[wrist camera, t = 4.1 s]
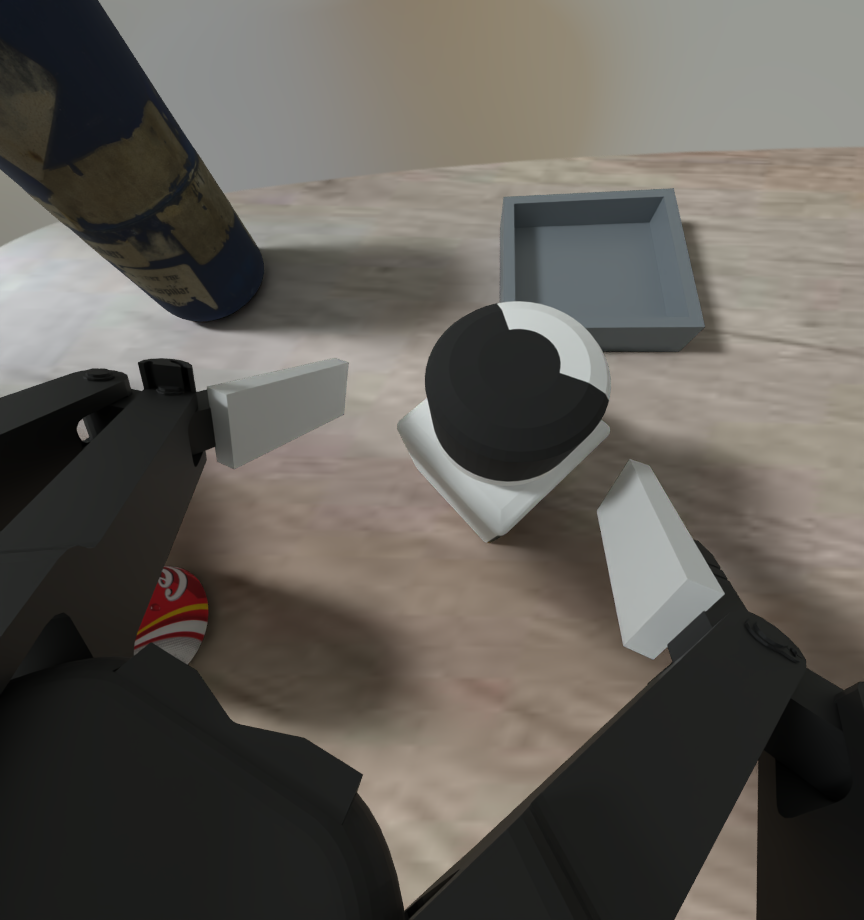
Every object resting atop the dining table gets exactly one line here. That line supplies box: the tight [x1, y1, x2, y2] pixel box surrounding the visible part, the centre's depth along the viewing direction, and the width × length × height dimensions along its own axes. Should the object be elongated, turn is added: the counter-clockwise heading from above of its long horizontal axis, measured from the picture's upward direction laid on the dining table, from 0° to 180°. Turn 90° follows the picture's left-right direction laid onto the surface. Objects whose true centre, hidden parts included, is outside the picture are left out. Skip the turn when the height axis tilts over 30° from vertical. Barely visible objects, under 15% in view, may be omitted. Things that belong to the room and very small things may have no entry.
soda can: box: [134, 566, 208, 665], centre depth 14 cm, size 7×7×12 cm
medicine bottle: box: [397, 301, 611, 543], centre depth 15 cm, size 7×7×12 cm
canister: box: [0, 0, 264, 322], centre depth 20 cm, size 10×10×18 cm
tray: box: [500, 188, 705, 352], centre depth 24 cm, size 13×13×2 cm
